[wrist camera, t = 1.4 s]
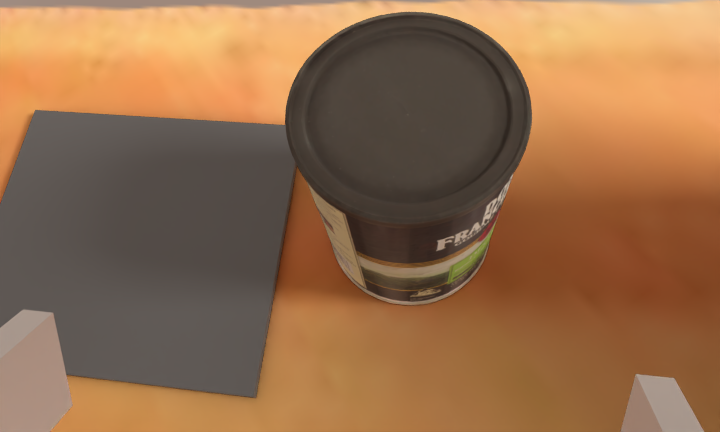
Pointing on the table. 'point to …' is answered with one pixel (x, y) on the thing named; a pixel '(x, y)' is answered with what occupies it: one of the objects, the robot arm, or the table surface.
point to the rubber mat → (149, 244)
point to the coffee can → (409, 149)
